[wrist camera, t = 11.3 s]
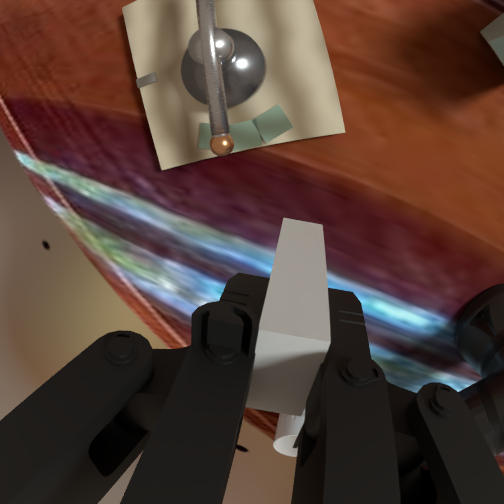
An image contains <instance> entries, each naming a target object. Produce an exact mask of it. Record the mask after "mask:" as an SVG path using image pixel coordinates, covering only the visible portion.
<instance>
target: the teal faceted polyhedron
mask: <svg viewBox="0 0 504 504" xmlns="http://www.w3.org/2000/svg"><path fill="white" fill-rule="evenodd" d="M480 34H481V35H482V36H483V38H484V39H485V40H486V42H487V43H488V44H489V46H490V47H491V49H492V50H493V52H494V53H495V54H496V56H497V57H498V59H499V60H500V62H501V63H502V65H503V67H504V12H503V13H502V14H501V15H500V16H499V17H497V18H496V19H495V20H494V21H492V22H491V23H490V24H489V25H487V26H486V27H485V28H484V29H483V30H481V31H480Z"/></svg>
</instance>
